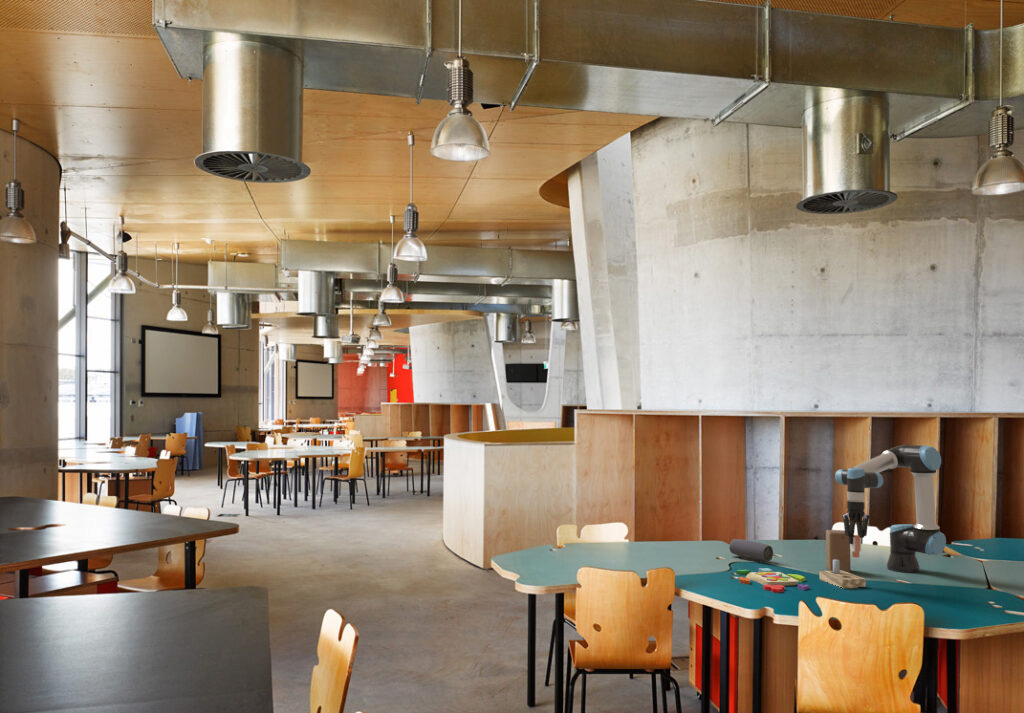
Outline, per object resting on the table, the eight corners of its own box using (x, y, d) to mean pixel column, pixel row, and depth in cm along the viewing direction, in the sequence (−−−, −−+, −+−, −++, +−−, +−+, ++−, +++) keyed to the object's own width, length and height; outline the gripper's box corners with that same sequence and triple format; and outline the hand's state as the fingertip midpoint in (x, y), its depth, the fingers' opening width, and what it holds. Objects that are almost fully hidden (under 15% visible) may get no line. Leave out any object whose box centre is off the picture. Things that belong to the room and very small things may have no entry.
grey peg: (837, 580, 366) (836, 559, 366) (841, 581, 363) (840, 560, 363) (831, 580, 365) (831, 559, 366) (835, 582, 362) (835, 560, 363)
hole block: (841, 578, 370) (841, 570, 370) (865, 587, 352) (865, 578, 352) (819, 579, 367) (819, 571, 368) (842, 588, 350) (842, 579, 350)
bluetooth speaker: (774, 562, 406) (774, 543, 406) (763, 564, 400) (763, 545, 401) (739, 555, 424) (739, 537, 425) (728, 556, 419) (728, 538, 420)
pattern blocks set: (718, 576, 373) (718, 569, 374) (771, 571, 387) (771, 565, 387) (773, 594, 338) (773, 587, 339) (829, 588, 352) (829, 581, 352)
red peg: (856, 556, 360) (856, 534, 360) (860, 557, 357) (860, 535, 358) (851, 556, 359) (851, 534, 360) (855, 557, 356) (855, 535, 357)
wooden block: (851, 573, 381) (850, 533, 382) (829, 572, 383) (829, 532, 384) (846, 569, 391) (845, 530, 392) (825, 568, 393) (825, 529, 394)
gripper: (865, 500, 365) (865, 549, 363) (836, 499, 362) (836, 549, 360) (875, 502, 358) (875, 552, 356) (846, 501, 355) (846, 552, 353)
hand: (855, 550), depth 358 cm, fingers closed on red peg, 2 cm apart
